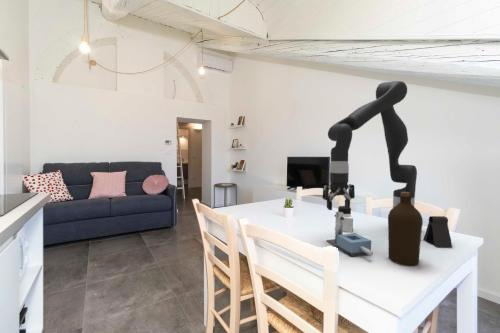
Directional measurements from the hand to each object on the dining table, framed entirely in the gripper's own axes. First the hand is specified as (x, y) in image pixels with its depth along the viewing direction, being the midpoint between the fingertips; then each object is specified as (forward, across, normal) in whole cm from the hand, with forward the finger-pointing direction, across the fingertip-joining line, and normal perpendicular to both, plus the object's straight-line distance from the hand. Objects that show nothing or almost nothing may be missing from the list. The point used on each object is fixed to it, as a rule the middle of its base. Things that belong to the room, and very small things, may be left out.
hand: (338, 209), depth 106 cm
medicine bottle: (+15, +15, +16) cm, 26 cm away
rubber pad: (+15, 0, 0) cm, 15 cm away
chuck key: (+14, 0, -1) cm, 14 cm away
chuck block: (+15, 0, -12) cm, 19 cm away
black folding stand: (+16, +41, -12) cm, 45 cm away
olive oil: (+15, +12, -21) cm, 29 cm away
